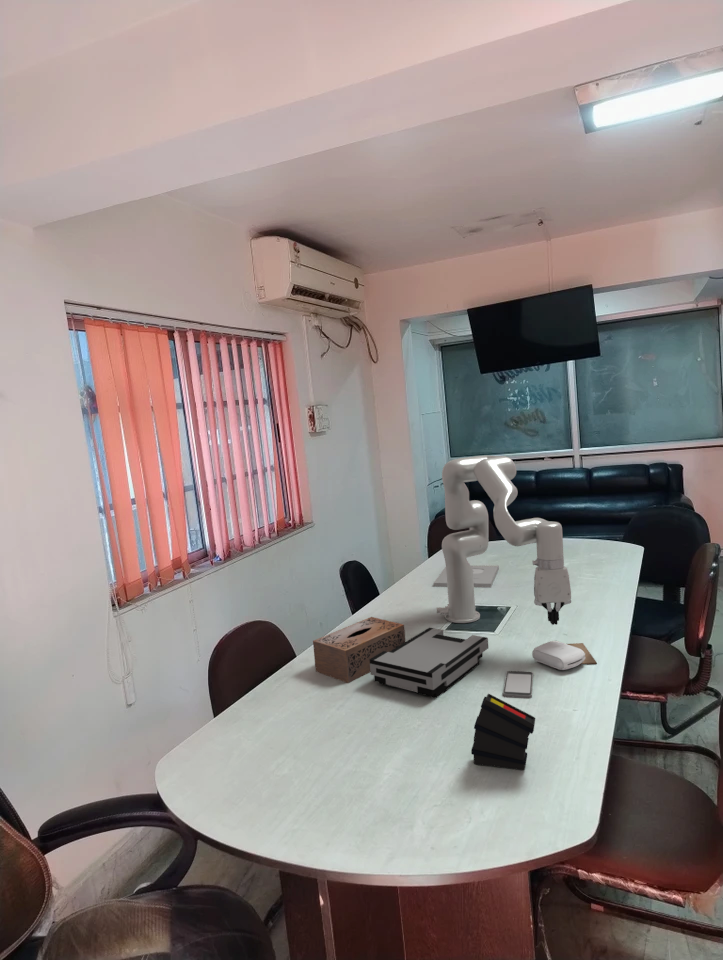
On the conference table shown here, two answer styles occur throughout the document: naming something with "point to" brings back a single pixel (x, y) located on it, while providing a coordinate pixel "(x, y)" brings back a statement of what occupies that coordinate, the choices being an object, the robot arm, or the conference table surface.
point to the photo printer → (558, 655)
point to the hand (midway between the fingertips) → (553, 623)
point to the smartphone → (518, 684)
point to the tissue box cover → (356, 648)
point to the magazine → (501, 735)
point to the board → (588, 656)
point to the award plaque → (481, 576)
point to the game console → (428, 662)
